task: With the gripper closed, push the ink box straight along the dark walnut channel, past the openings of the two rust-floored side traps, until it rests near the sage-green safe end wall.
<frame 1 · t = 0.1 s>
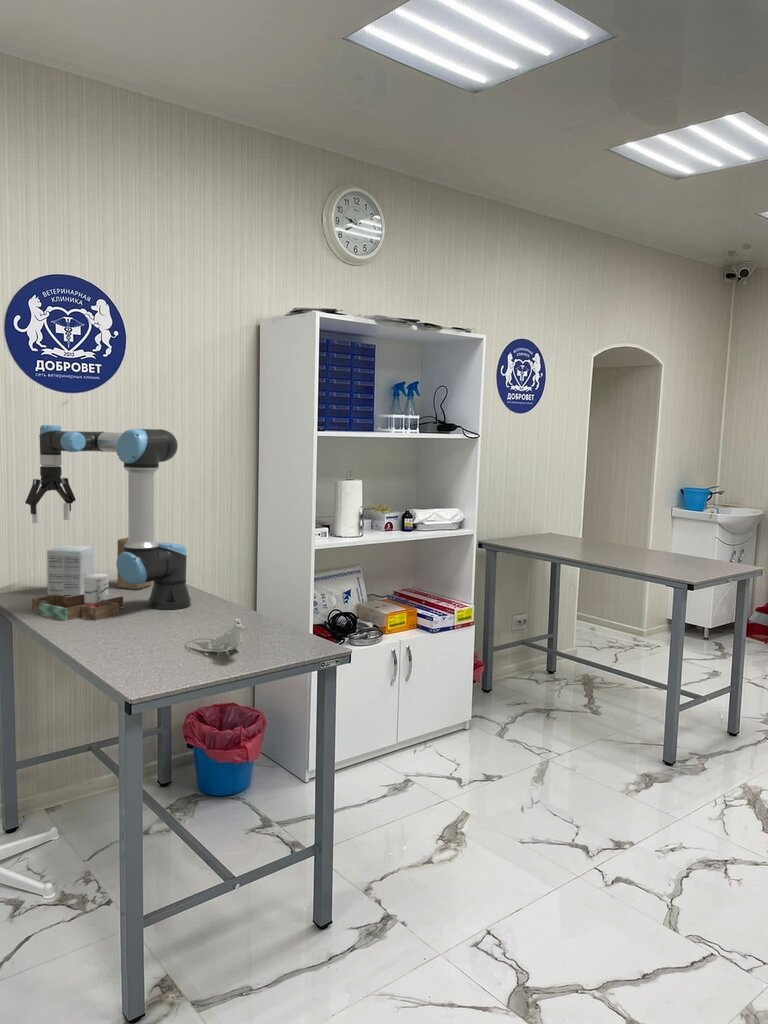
hand: (51, 521, 301), 28 cm above the table, tool pointing down, fingers open, 13 cm apart
ink box: (96, 608, 283), resting in trap channel
trap channel: (82, 610, 278), on the table
block: (134, 587, 320), on the table
supplement box: (70, 592, 306), on the table
bird figurine: (224, 653, 234), on the table
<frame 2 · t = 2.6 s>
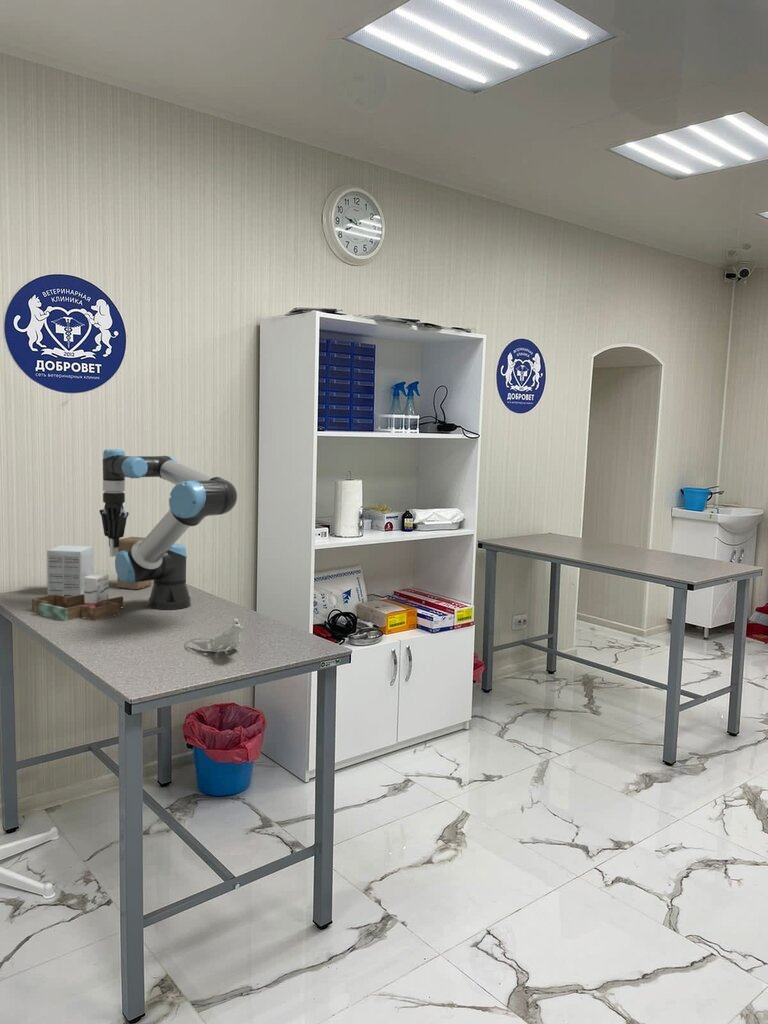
hand: (114, 556, 288), 18 cm above the table, tool pointing down, fingers closed
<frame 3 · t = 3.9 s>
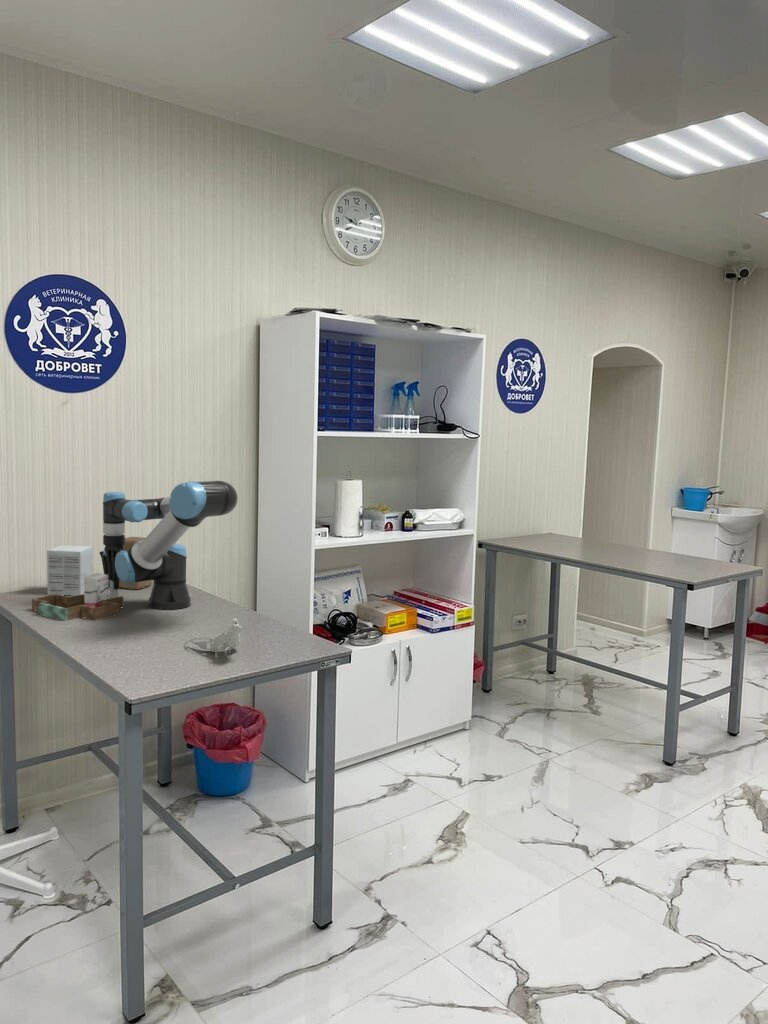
hand: (113, 597, 289), 2 cm above the table, tool pointing down, fingers closed
nothing on the table moved.
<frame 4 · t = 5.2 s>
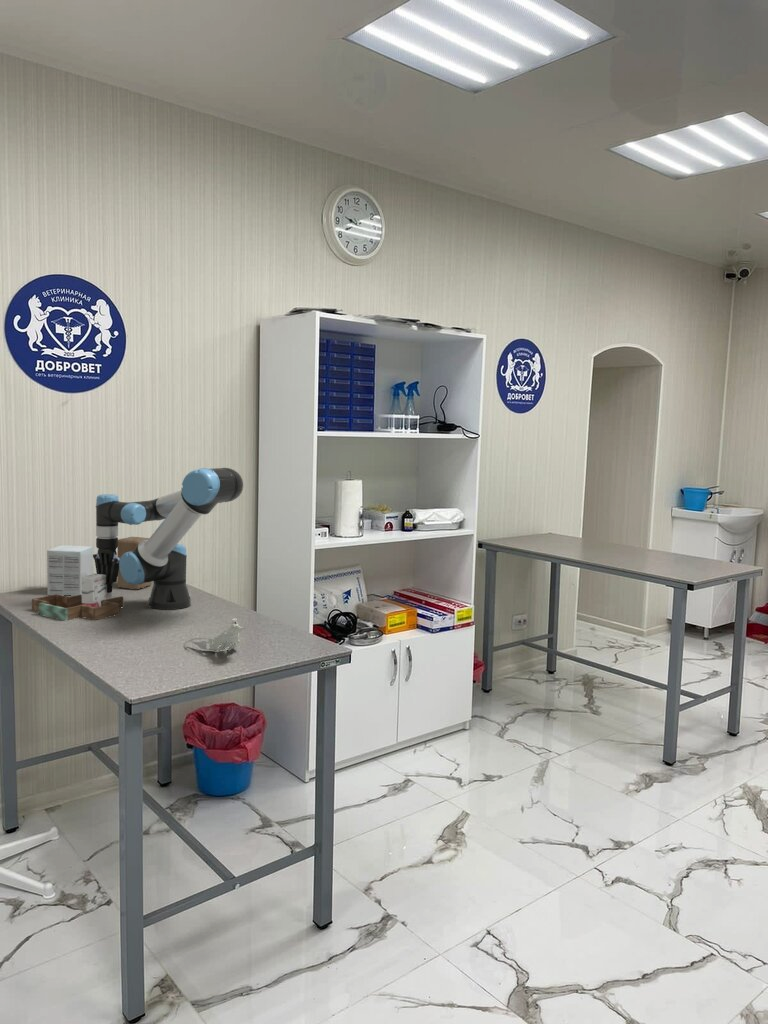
hand: (107, 600, 287), 2 cm above the table, tool pointing down, fingers closed
ink box: (94, 608, 282), resting in trap channel, touching gripper
everything else where it was.
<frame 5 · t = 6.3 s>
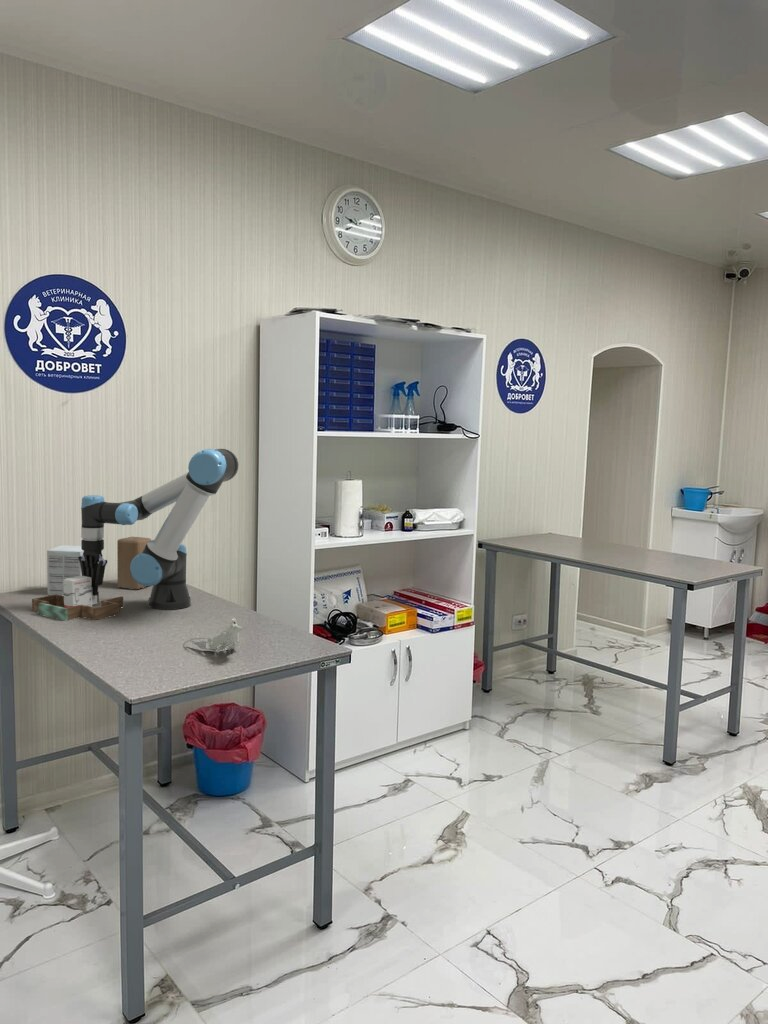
hand: (92, 603, 282), 2 cm above the table, tool pointing down, fingers closed
ink box: (78, 611, 277), resting in trap channel, touching gripper
everything else where it was.
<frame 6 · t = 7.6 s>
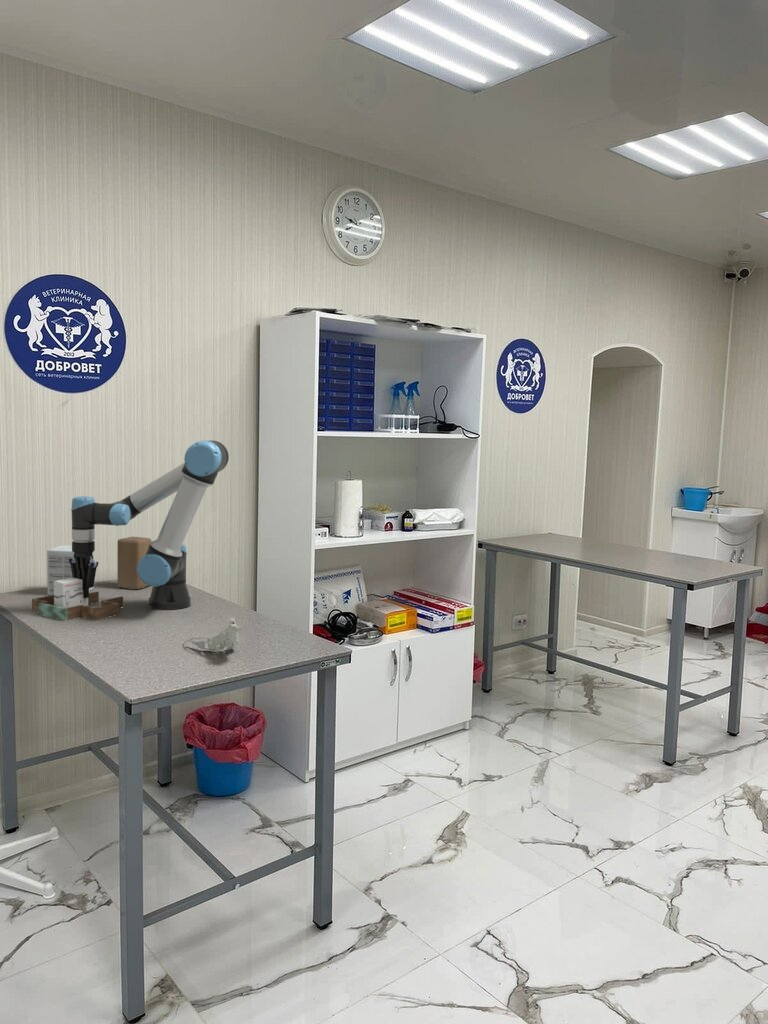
hand: (83, 606, 278), 1 cm above the table, tool pointing down, fingers closed
ink box: (68, 613, 273), resting in trap channel, touching gripper
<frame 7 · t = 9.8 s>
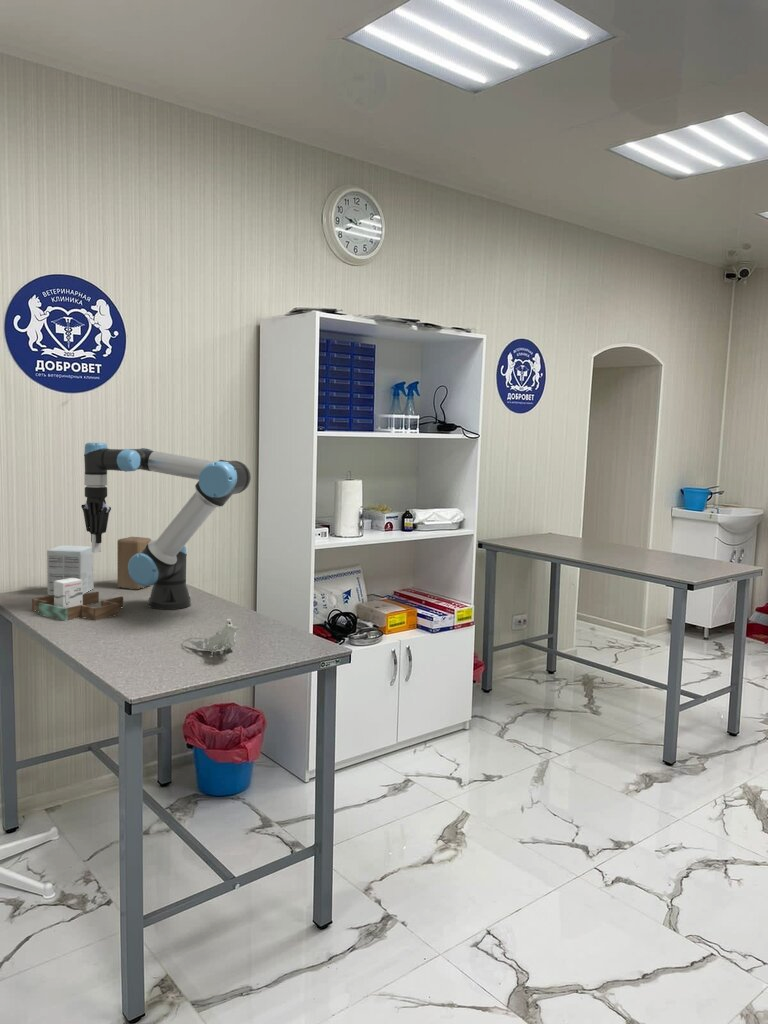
hand: (96, 552, 281), 20 cm above the table, tool pointing down, fingers closed
ink box: (68, 614, 273), resting in trap channel
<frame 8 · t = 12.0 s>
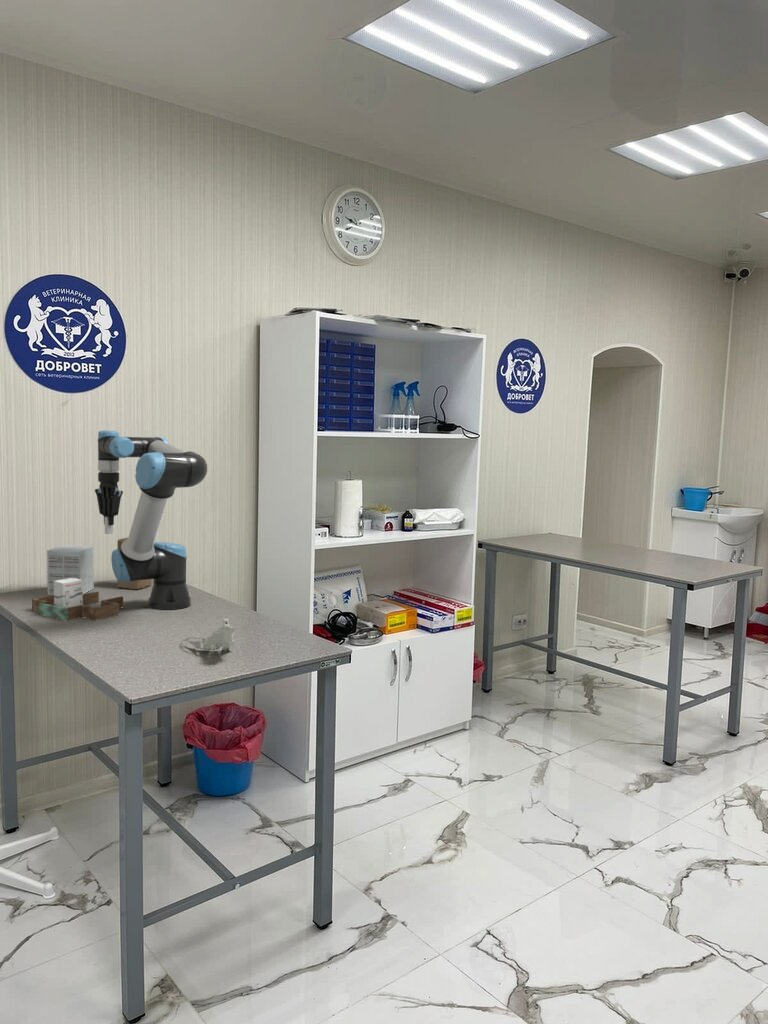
hand: (108, 533, 298), 24 cm above the table, tool pointing down, fingers closed
at the end: ink box 0.9 cm from the target spot on the trap channel, point 0.0 cm above the trap channel's base; ink box tilted 0° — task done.
